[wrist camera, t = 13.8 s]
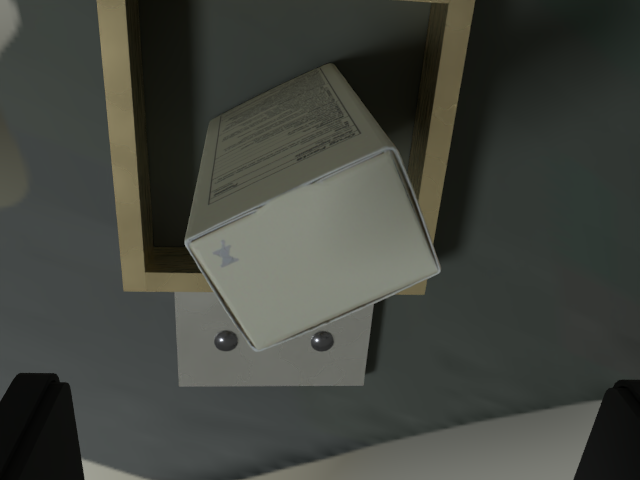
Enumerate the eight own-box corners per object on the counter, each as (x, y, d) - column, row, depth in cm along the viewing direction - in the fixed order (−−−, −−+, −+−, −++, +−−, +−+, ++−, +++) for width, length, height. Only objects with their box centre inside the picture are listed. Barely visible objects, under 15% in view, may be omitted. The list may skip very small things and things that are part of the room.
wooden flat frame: (493, -240, 21) (520, -261, 19) (395, 375, 34) (405, 406, 32) (89, -286, 20) (67, -313, 18) (143, 376, 33) (134, 409, 30)
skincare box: (250, 199, 28) (244, 363, 18) (206, 118, 26) (168, 246, 16) (375, 143, 28) (449, 278, 17) (339, 55, 26) (396, 143, 15)
